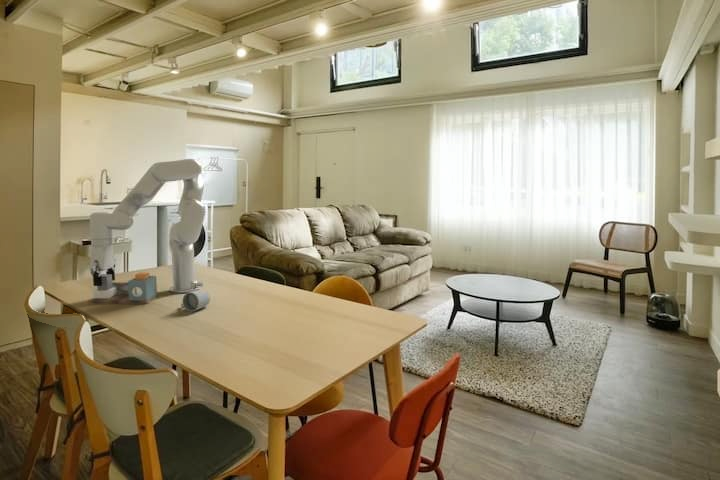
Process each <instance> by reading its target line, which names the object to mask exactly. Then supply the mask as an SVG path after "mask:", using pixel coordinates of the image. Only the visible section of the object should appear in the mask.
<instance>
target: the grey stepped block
mask: <svg viewBox="0 0 720 480" xmlns="http://www.w3.org/2000/svg"><path fill="white" fill-rule="evenodd" d="M101 276H102V286H96V288H97V289H95V290H93V291H92V295H93V298H110V297H112V296H114V295H116V294H117V287H113V285H112V282H113V281H112V274H105V273H101Z"/></svg>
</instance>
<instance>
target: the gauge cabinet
mask: <svg viewBox="0 0 720 480" xmlns="http://www.w3.org/2000/svg"><path fill="white" fill-rule="evenodd" d="M127 282H128V289H129V300H148V299H149V298H151V297H153V296H154V295H156V294H157V295H158V290H157V289H158V285H157V275H149V278H148V279H146V280H135V277H134V278H131V279H129V280H128V281H127Z"/></svg>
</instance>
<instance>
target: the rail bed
mask: <svg viewBox="0 0 720 480" xmlns="http://www.w3.org/2000/svg"><path fill="white" fill-rule="evenodd" d="M112 285H113V287H117V294H116V295H114V296H112V297H110V298H90V299H88V302H89V303H88V304H90V305H91V304H92V305H93V304H94V305H98V304H101V305H107V304H109V305H115V304H116V305H117V304H118V305H127V304H129V305H130V304H131V305H133V304H134V305H137V304H138V305H142V304H144V305H145V304H146V305H147V304H148V303H150V302H153V300H155V299H157V298H158V293H157V294H156V295H154V296H153V297H151V298H149V299H148V300H129V289H128V281H120V282H119V281H118V282H117V281H115V282H114V281H112Z"/></svg>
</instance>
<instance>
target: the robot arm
mask: <svg viewBox="0 0 720 480" xmlns="http://www.w3.org/2000/svg"><path fill="white" fill-rule="evenodd" d="M202 171H203V167H202V164H201V163H200V162H199V161H198V160H197V159H194V158H185V159H178V160H169V161H158V162H157V161H156V162H155V163H152V164H151V166H150V167H149V168H148V169H147V170H146V172H145V173H144V174H143V176H141V178H140V180H139V181H138V182H137V183H136V184H135V186H133V187H132V189H131V190H130V191H129V192H128V194H127V195H126V196H125V197H124V198H123V199H122V201H121V202H119V203H118V205H117V206H116V207H115V209H114V210H113V211H112V213H109V212H103V211H102V212H101V211H99V212H92V213H91V214H90V215H89V224H90V225H89V227H90V242H91V243H90V244H91V249H90V262H89V263H90V266H89V270H90V274H91V276H92V281H93V286H94V287H97V286H102V276H101V274H103V271H106V272H105V273H106V274H112V282H114V281H115V280H116V276H115V271H116V263H117V262H116V261H117V260H116V259H115V256H114V247H113V246H114V244H113V243H114V242H113V230H118V231H126V230H130V228H131V227H132V226H133V224H134V218H133V217H134V216H135V215H136V214H137V212H138V211H139V210H140V209H142V208H143V206H145V205H147V204H149V203H150V202H152V200H154V198H155V197H156V195H157V194H158V193H159V191H161V189H162V187H164V185H166V183H169V182H176V181H177V182H178V181H183V189H182V194H181V197H180V201H179V204H178V207H177V212H178V215H179V217H180V221H177V222H175V223H174V224H172V225H171V227H170V230H169V241H170V246H171V262H172V263H171V264H172V265H171V266H172V267H171V269H172V286H171V287H170V288H169V292H170V293H176V294H183V293H184V294H186V293H188V292H192V291H197V290H200V288H201V287H205V283H204V281H198V279H197V278H196V274H195V273H196V271H195V248H194V244H195V243H196V242H197V241H198V240H199V237H200V235H201V233H202V232H201V230H202V228H203V225H204V220H205V216H206V208H205V206H204V204H203V203H202V200H203V199H202V198H203V194H204V188H205V187H204V186H205V185H204V179H203V177H202V175H201V173H202Z"/></svg>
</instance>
